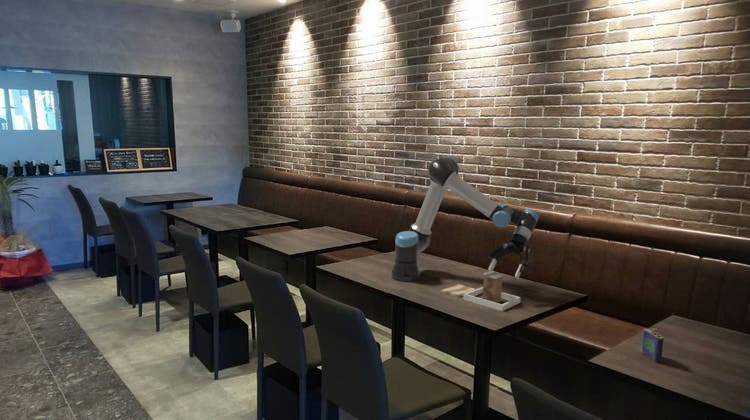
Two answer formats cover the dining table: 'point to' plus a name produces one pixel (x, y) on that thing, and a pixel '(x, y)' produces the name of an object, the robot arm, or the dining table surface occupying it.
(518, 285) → the dining table surface
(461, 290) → the board
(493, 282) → the canister
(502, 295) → the white rectangular frame
